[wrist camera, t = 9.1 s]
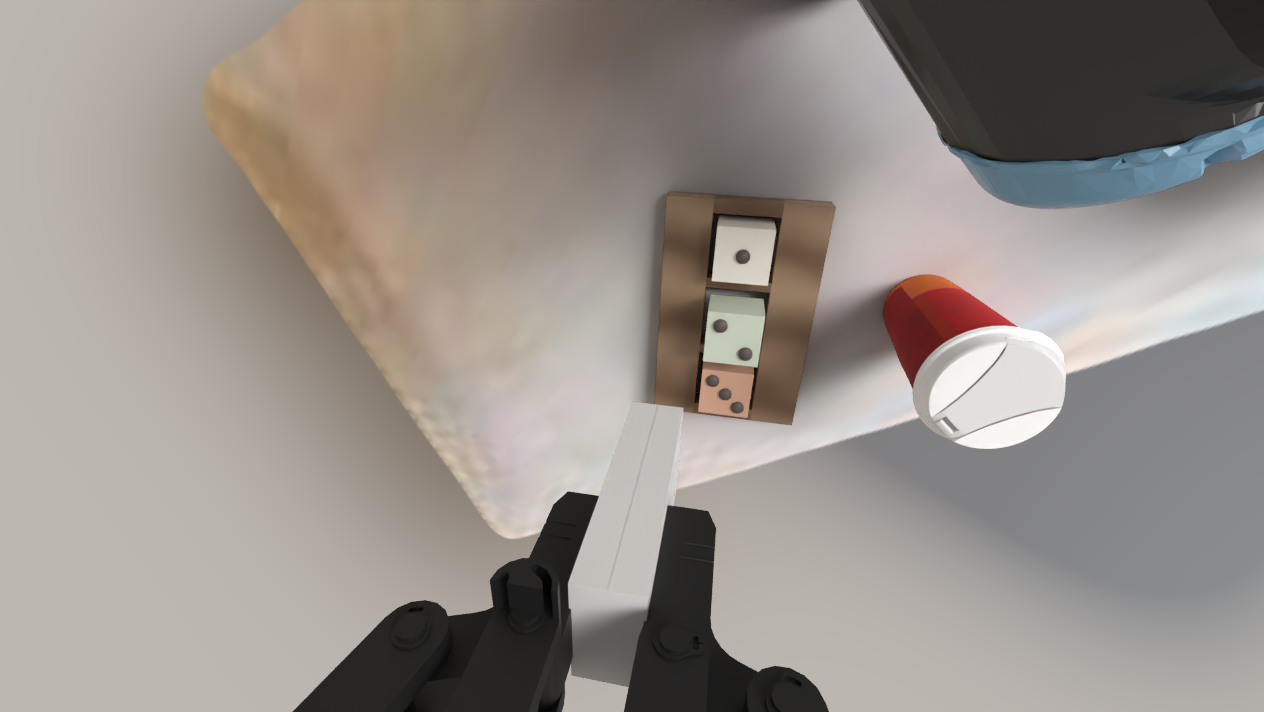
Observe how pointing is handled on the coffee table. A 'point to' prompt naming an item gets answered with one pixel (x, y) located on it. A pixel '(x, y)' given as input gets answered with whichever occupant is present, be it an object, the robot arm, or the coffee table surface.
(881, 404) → the coffee table surface
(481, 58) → the coffee table surface
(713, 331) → the tile two
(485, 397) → the coffee table surface
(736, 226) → the tile one
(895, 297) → the coffee cup
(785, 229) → the tile board
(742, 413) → the tile three
